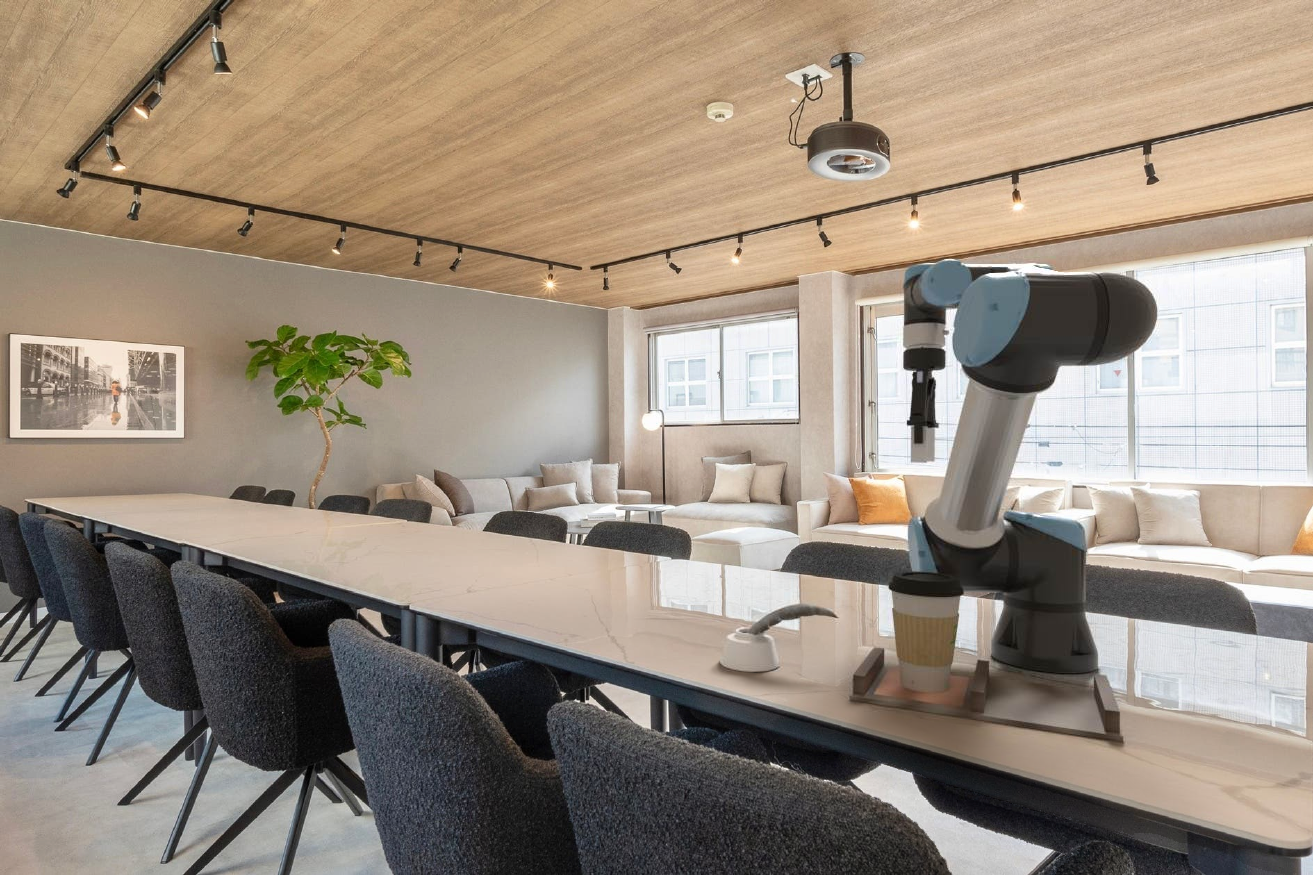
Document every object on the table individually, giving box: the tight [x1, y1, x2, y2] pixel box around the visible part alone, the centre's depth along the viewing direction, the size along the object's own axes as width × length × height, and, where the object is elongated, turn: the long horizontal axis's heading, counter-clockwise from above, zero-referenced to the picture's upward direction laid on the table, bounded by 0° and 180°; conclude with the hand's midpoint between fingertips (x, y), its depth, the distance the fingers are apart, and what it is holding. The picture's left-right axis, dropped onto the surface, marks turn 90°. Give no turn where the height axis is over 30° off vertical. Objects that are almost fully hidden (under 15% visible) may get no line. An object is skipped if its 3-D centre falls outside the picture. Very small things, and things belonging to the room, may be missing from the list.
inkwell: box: [719, 603, 839, 673], centre depth 117 cm, size 9×18×10 cm, turn 71°
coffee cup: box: [888, 570, 965, 693], centre depth 106 cm, size 10×10×15 cm
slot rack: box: [848, 646, 1124, 743], centre depth 103 cm, size 31×18×3 cm, turn 65°
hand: (923, 462), depth 144 cm, fingers open, 13 cm apart
